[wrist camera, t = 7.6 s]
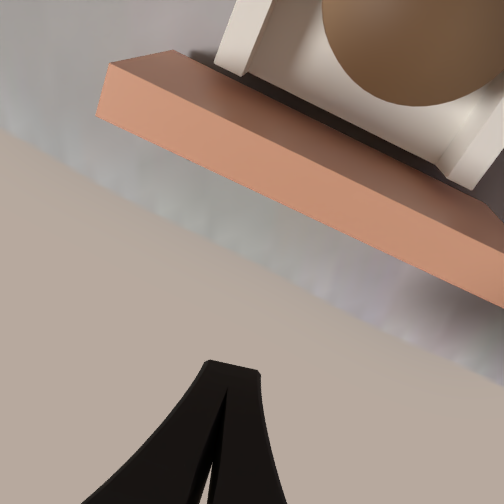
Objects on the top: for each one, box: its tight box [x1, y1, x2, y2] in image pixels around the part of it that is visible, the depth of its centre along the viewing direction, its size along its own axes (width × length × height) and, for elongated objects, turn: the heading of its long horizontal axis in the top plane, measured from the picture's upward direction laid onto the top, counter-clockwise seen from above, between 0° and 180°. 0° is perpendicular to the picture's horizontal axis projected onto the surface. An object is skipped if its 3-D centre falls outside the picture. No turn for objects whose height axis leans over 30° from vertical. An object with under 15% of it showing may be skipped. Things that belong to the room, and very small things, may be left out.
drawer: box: [95, 0, 504, 308], centre depth 10 cm, size 11×10×5 cm
